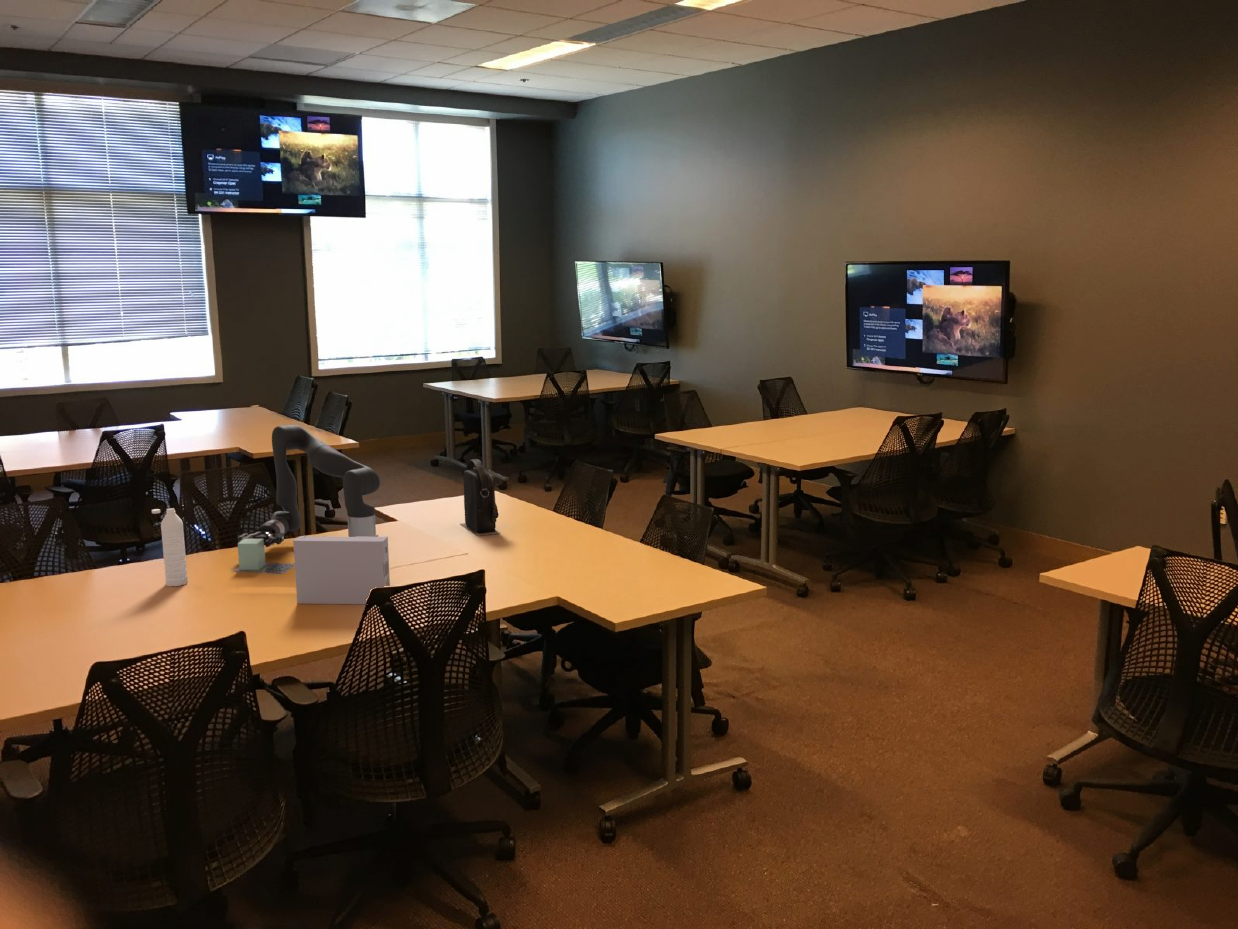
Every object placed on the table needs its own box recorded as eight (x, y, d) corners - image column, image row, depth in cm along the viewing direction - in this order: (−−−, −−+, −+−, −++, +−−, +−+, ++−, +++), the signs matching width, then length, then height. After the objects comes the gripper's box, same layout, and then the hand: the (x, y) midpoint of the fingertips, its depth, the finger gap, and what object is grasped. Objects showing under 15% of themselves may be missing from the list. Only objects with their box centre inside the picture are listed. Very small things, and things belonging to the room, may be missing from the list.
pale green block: (265, 564, 336) (263, 538, 335) (258, 569, 330) (256, 543, 328) (246, 564, 336) (244, 538, 335) (239, 569, 330) (237, 543, 328)
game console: (303, 598, 306) (299, 535, 302) (390, 598, 305) (388, 536, 301) (296, 604, 300) (292, 540, 296) (385, 605, 299) (382, 541, 295)
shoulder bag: (458, 524, 399) (456, 455, 394) (479, 521, 403) (478, 453, 398) (478, 536, 379) (476, 464, 374) (500, 533, 384) (499, 462, 378)
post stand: (298, 568, 336) (296, 544, 335) (281, 578, 326) (279, 553, 324) (249, 566, 340) (247, 542, 338) (231, 575, 329) (229, 550, 327)
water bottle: (187, 579, 324) (181, 505, 319) (188, 585, 318) (182, 509, 314) (158, 583, 320) (151, 508, 316) (158, 588, 314) (151, 512, 310)
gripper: (249, 521, 349) (231, 533, 333) (289, 522, 349) (274, 533, 333) (251, 542, 351) (233, 555, 335) (291, 542, 351) (275, 555, 335)
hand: (253, 544), depth 334 cm, fingers open, 8 cm apart
